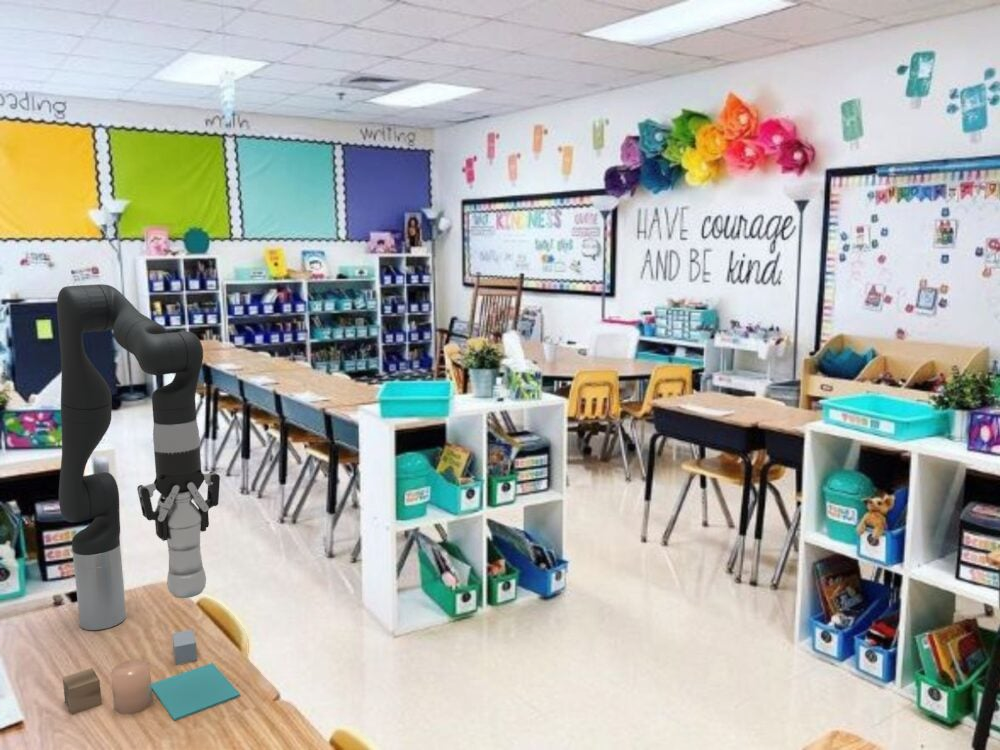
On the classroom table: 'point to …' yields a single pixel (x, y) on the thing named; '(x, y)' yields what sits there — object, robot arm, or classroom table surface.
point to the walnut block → (82, 691)
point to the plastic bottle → (184, 548)
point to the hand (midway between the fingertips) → (183, 534)
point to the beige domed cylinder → (131, 686)
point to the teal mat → (194, 691)
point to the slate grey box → (184, 647)
